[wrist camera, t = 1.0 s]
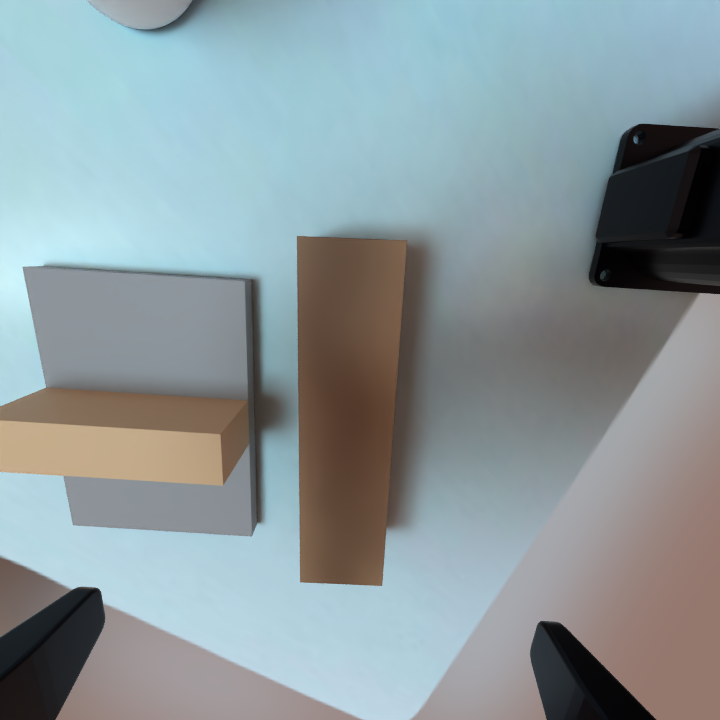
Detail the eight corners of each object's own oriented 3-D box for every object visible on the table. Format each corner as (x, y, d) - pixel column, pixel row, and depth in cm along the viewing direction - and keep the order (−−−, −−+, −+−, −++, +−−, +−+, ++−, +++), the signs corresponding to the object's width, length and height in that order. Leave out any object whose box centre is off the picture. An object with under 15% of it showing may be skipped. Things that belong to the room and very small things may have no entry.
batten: (397, 244, 17) (407, 240, 13) (379, 526, 21) (381, 585, 17) (312, 240, 17) (296, 236, 13) (312, 523, 21) (300, 582, 17)
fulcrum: (251, 279, 17) (212, 287, 13) (257, 523, 21) (228, 592, 17) (41, 266, 17) (-69, 269, 13) (86, 512, 21) (13, 579, 17)
